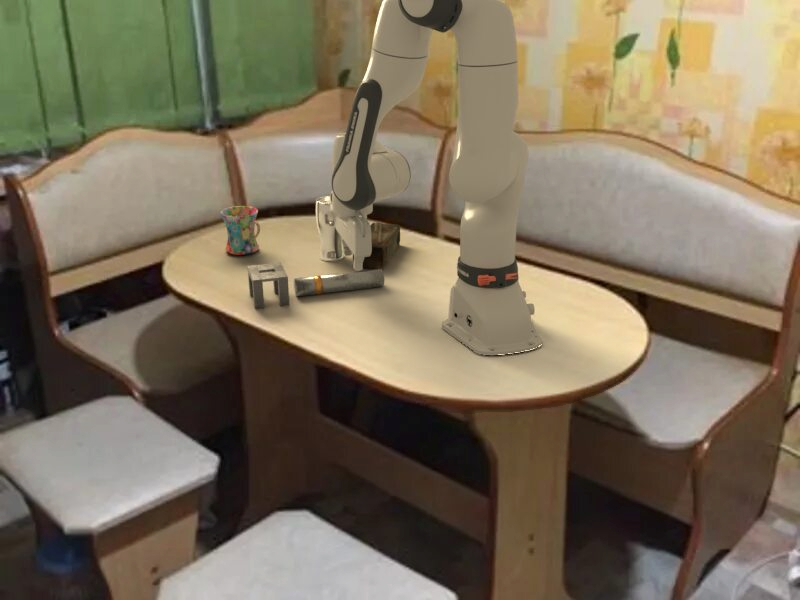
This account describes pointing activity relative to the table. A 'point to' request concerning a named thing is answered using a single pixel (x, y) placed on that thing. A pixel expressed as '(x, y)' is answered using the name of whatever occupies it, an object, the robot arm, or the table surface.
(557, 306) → the table surface
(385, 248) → the dark wooden box
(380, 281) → the tube
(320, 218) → the beer glass
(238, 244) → the mug
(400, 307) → the table surface
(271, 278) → the gray four-legged stand
